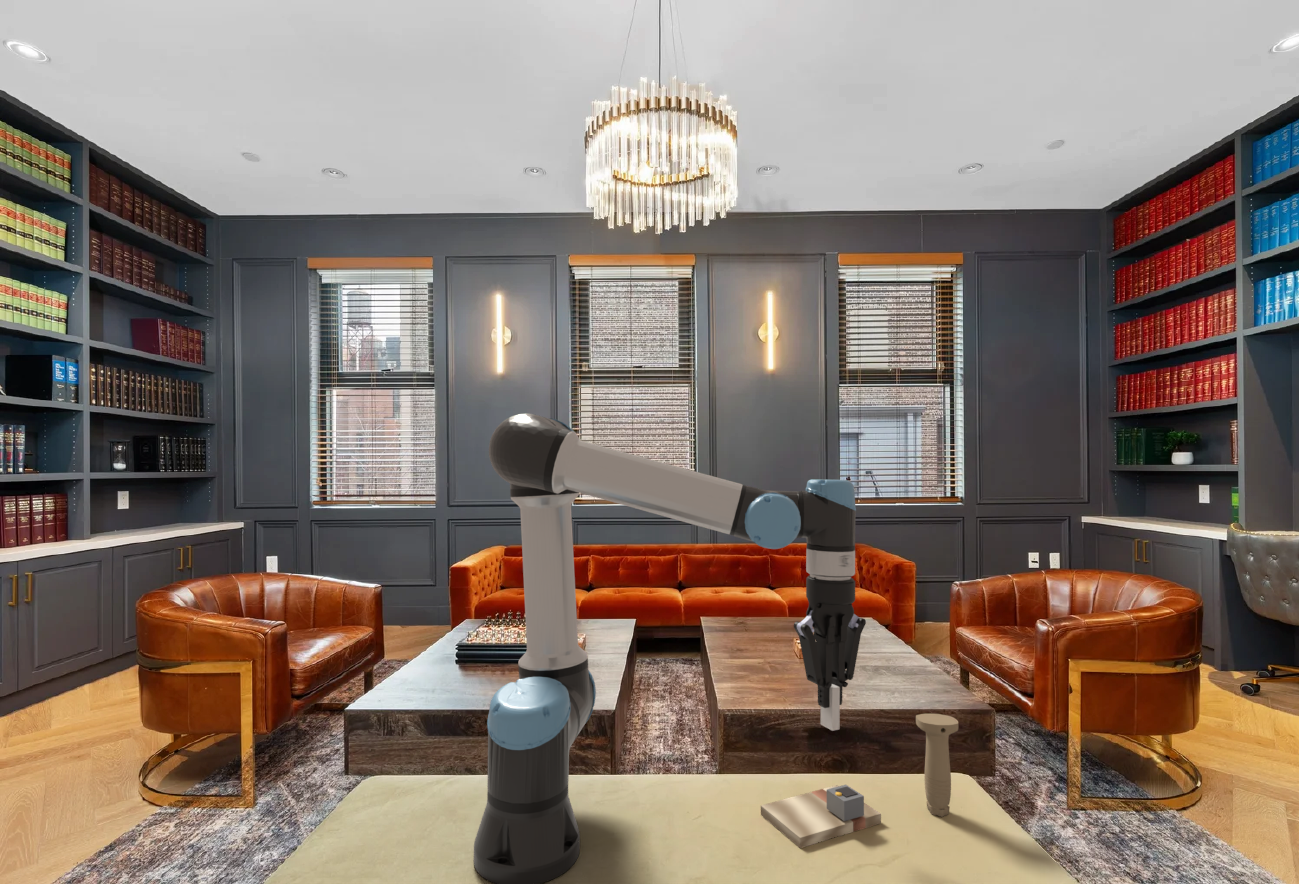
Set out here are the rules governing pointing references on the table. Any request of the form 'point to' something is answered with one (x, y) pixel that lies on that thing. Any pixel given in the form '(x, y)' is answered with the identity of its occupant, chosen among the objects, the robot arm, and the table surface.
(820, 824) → the plank
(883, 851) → the table surface
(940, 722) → the handle
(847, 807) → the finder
